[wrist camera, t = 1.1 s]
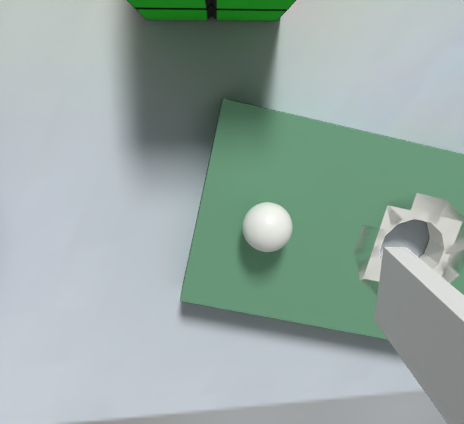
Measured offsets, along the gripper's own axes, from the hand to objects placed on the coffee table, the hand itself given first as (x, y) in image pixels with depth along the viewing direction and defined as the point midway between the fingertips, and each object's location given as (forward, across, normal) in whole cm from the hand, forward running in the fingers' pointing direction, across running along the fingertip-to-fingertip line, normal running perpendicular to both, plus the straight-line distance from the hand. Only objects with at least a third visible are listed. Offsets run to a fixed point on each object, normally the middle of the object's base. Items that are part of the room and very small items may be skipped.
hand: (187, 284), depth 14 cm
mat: (+21, +12, -5) cm, 25 cm away
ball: (+17, +5, -4) cm, 18 cm away
